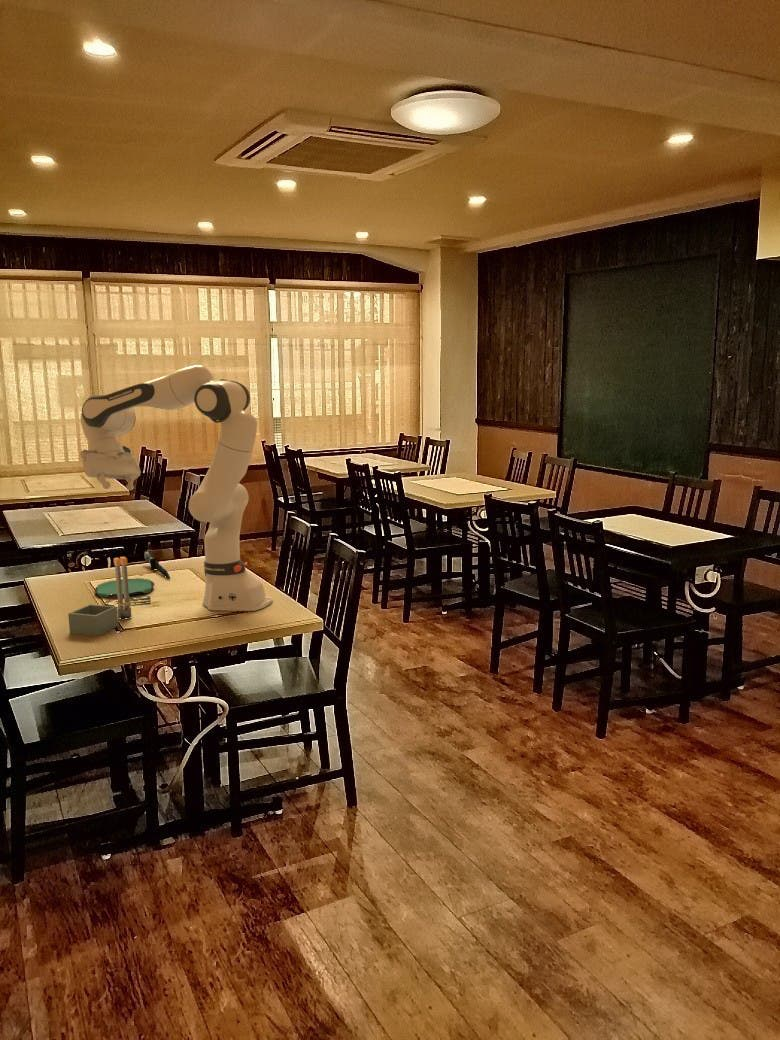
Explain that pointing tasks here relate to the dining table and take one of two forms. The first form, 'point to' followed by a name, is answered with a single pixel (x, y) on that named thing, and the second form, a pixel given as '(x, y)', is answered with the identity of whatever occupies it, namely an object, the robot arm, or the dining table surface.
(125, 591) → the tongs
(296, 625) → the dining table surface
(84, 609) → the open box
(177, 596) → the dining table surface
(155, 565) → the knife
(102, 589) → the green cutting board
